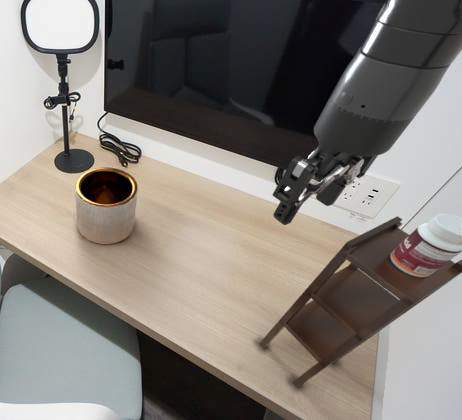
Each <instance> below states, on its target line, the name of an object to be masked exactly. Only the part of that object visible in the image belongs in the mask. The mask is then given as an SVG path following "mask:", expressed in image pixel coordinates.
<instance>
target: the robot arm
mask: <svg viewBox="0 0 462 420" xmlns="http://www.w3.org/2000/svg"><path fill="white" fill-rule="evenodd" d="M461 52H462V0H385V2H384V4H383V6H382V7H381V9H380V11H378V14H377V15H376V18H375V20H374V21H373V22H372V25H371V26H370V28H369V30H368V32H367V35H366V36H365V37H364V40H363V42H362V43H361V45H360V47H359V49H358V50H357V52H356V53H355V55H354V56H353V58H352V59H351V61H350V62H349V63H348V64H347V66H346V67H345V70H344V71H343V72H342V74H341V76H340V78H339V80H338V82H337V83H336V85H335V87H334V88H333V91H332V93H331V94H330V96H329V98H328V100H327V102H326V103H325V105H324V107H323V110H322V111H321V113H320V115H319V117H318V118H317V120H316V123H315V124H314V127H313V133H314V136H315V137H316V139H317V141H318V146H317V147H316V148H315V149H314V150H313V151H312V152H311V153H310V154H309V155H308V157H307V158H306V159H304V158H303V157H301V156H299V155H296V156H295V157H294V158H292V159H291V162H289V164H288V166H287V168H286V170H285V171H284V174H283V175H282V177H281V179H280V180H279V182H278V184H277V185H276V187H275V189H274V191H273V193H272V197H273V198H275V199H276V200H278V201H279V204H278V205H277V206H276V209H275V211H274V212H273V218H274V219H275V220H277V221H278V222H279V223H281V225H283V226H287V225H289V224H291V223H292V222H293V220H294V218H295V217H296V215H297V214H298V212H299V210H300V209H301V207H302V205H304V203H305V202H306V201H307V200H308V199H309V198H310V197H311V196H312V195H315V199H316V200H317V201H318V202H319V203H321V204H322V205H324V206H326V207H330V206H332V205H334V204H335V202H336V201H337V200H338V198H339V197H340V195H341V194H342V193H343V191H345V188H346V187H347V186H350V185H352V184H353V183H354V181H355V179H356V178H357V179H361V178H363V177H364V176H365V175H366V173H367V171H368V170H369V169H370V168H371V166H372V165H373V164H374V162H375V160H376V159H377V158H378V157H379V156H381V155H383V154H386V153H388V152H389V151H390V150H391V148H392V147H393V146H394V145H395V144H396V142H397V141H398V139H399V138H400V137H401V136H402V134H403V133H404V132H405V130H406V129H407V128H408V126H409V125H410V124H411V123H412V121H414V119H415V117H416V116H417V115H418V113H419V112H420V111H421V109H422V108H423V107H424V106H425V105H426V103H427V102H428V101H429V99H430V98H431V97H432V95H433V94H434V92H435V91H436V90H437V88H438V87H439V85H440V83H441V81H442V79H443V78H444V76H445V74H446V72H447V71H448V69H449V68H450V67H451V65H452V64H453V62H454V61H455V60H456V59H457V57H458V56H459V55H460V53H461ZM311 180H314V181H316V182H317V183H316V184H313V183H312V182H311ZM305 189H306V190H305Z"/></svg>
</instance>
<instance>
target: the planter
mask: <svg viewBox="0 0 462 420" xmlns="http://www.w3.org/2000/svg"><path fill="white" fill-rule="evenodd" d="M138 191H139V186H138V183H137V180H136V179H135V177H134V176H133V175H131V173H129V172H127V171H125V170H124V169H121V168H115V167H108V166H107V167H106V166H105V167H104V166H103V167H96V168H93V169H90V170H87V171H85V172H84V173H82V174H81V175H80V176H79V177H78V178H77V180H76V181H75V184H74V192H75V193H74V194H75V216H76V217H75V218H76V219H75V221H76V227H77V230H78V231H79V232H80V235H82V237H84V238H85V239H87V240H88V241H90V242H93V243H95V244H101V245H111V244H117V243H119V242H121V241H124V240H125V239H126V238H128V237H129V236H130V235H131V233H132V231H133V230H134V226H135V219H136V211H137V201H138V193H139V192H138Z"/></svg>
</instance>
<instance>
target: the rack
mask: <svg viewBox="0 0 462 420" xmlns="http://www.w3.org/2000/svg"><path fill="white" fill-rule="evenodd" d="M402 221H403V218H401V217H399V216H397V215H396V216H395V217H393V218H391V219H389V220H387V221H385V222H383V223H381V224H379V225H377V226H375V227H373V228H371V229H369V230H367V231H365V232H364V233H361V234H360V235H357V236H356V237H354V238H352V239H350V240H348V241H346V242H345V243H344V245H343V246H342V247H341V248H340V249H339V250H338V251H337V252H336V254H335V255H334V256H333V257H332V258H331V260H330V261H329V262H328V263H327V264H326V266H324V267H323V269H322V270H321V272H319V274H318V275H317V276H316V277H315V278H314V279H313V280H312V282H311V283H310V284H309V285H308V286H307V287H306V288H305V290H303V292H302V293H301V294H300V295H299V296H298V298H297V299H296V300H295V301H294V302H293V304H292V305H291V306H290V307H289V308H288V309H287V310H286V312H284V314H283V315H282V316H281V318H280V319H279V320H278V321H277V322H276V323H275V324H274V325H273V327H272V328H271V329H270V330H269V331H268V332H267V334H265V336H264V337H263V338H262V339H261V341H260V342H259V343H258V345H259V346H260V347H261V349H265V348H267V347H268V345H270V343H271V342H272V341H273V340H274V339H275V338H276V337H277V336H278V335H279V334H280V333H281V331H282V330H283V329H284V328H285V329H286V330H287V332H289V333H290V334H291V336H292V337H293V338H294V339H295V340H296V341H297V342H298V343H299V344H300V345H301V346H302V347H303V348H304V349H305V350H306V352H308V353H309V354H310V355H311V356H312V358H314V360H316V361H317V363H316V364H314V365H313V366H311V367H310V368H309V369H307V370H306V371H305V372H303V373H301V375H299V376H298V377H297V378H296V379H294V380H293V381H292V382H291V383H292V384H293V385H294V387H295V388H296V389H297V388H298V389H299V387H301V386H302V385H304V384H305V383H307V382H308V381H310V380H311V379H313V377H315V376H317V374H319V373H320V372H322V371H324V370H325V369H326V368H327V367H329V366H330V365H334V364H335V363H337V362H338V361H340V360H341V359H342V358H344V357H345V356H347V355H348V354H349V353H351V352H352V351H354V350H355V349H356V348H358V347H359V346H361V345H362V344H363V343H365V342H367V341H368V340H369V339H370V338H372V337H374V336H375V335H376V334H377V333H379V332H381V331H382V330H383V329H385V328H386V327H388V326H389V325H391V324H392V323H393V322H396V320H398V319H399V318H400V317H402V316H403V315H405V314H406V313H407V312H409V311H410V310H412V309H413V308H415V307H416V306H417V305H419V304H420V303H422V302H423V301H424V300H426V299H427V298H429V297H430V296H432V295H433V294H435V292H437V291H438V290H440V289H441V288H443V287H444V286H445V285H447V284H448V283H449V282H451V281H453V280H454V279H456V278H457V277H458V276H460V275H461V274H462V259H459V260H458V261H456V262H454V261H453V260H452V259H451V260H449V261H448V262H447V263H446V264H444V265H443V266H441V267H440V268H439V269H437V270H436V271H435V272H434V273H432V274H431V275H429V276H427V277H416V276H412V275H409V274H407V273H405V272H403V271H402V270H400V269H399V268H398V267H396V266H395V265H394V264H393V262H392V261H391V258H390V254H391V252H392V251H393V250H394V249H395V248H396V247H398V246H399V245H400V244H401V243H402V242H403V241H404V240H405V239H406V238H407V237H408V236H409V235H410V234H409V233H407V232H406V231H404V230H403V229H401V228H400V227H402V226H403V223H402ZM346 261H348V262H349V264H348V265H347V266H345V267H343V268H342V269H340V270H339V268H340V267H341V266H343V264H344V263H345V262H346ZM311 299H312V300H311ZM310 300H311V301H310Z"/></svg>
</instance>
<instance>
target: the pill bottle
mask: <svg viewBox="0 0 462 420" xmlns="http://www.w3.org/2000/svg"><path fill="white" fill-rule="evenodd" d="M460 253H462V217H461V216H459V215H456V214H453V213H448V212H440V213H436V214H435V215H434V216H433V217H432V218H431V219H430V220H429V221H428V222H424V223H421V224H420V225H418V226H417V227H416V228H415V229H414V230H413V231H411V233H410V234H409V236H408V237H407V238H406V239H405V240H404V241H403V242H402V243H401V244H400V245H399V246H398V247H396V248H395V249H394V250H393V251H392V252H391V254H390V258H391V261H392V262H393V264H394V265H395V266H396V267H398V268H399V269H400V270H402V271H403V272H405V273H407V274H409V275H412V276H416V277H427V276H429V275H431V274H432V273H434V272H435V271H436V270H437V269H439V268H440V267H441V266H443V265H444V264H446V263H447V262H448V261H449V260H451V261H452V259H453V258H455V257H456V256H457V255H459V254H460Z"/></svg>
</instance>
